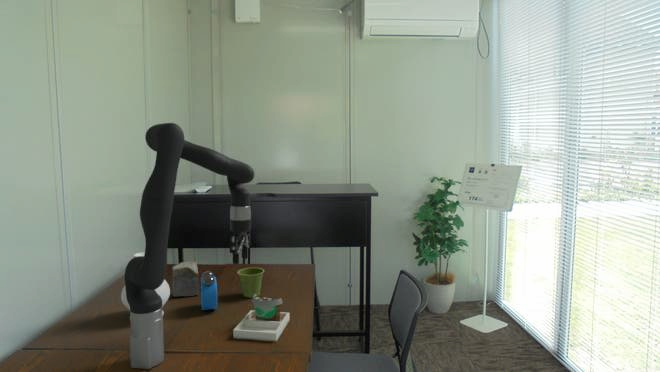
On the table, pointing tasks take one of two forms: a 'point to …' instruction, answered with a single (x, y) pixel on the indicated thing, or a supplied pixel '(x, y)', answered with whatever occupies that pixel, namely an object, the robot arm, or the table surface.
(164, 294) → the decorative vase
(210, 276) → the alarm clock
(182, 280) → the geological specimen
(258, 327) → the tray
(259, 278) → the plant pot
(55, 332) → the table surface
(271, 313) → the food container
